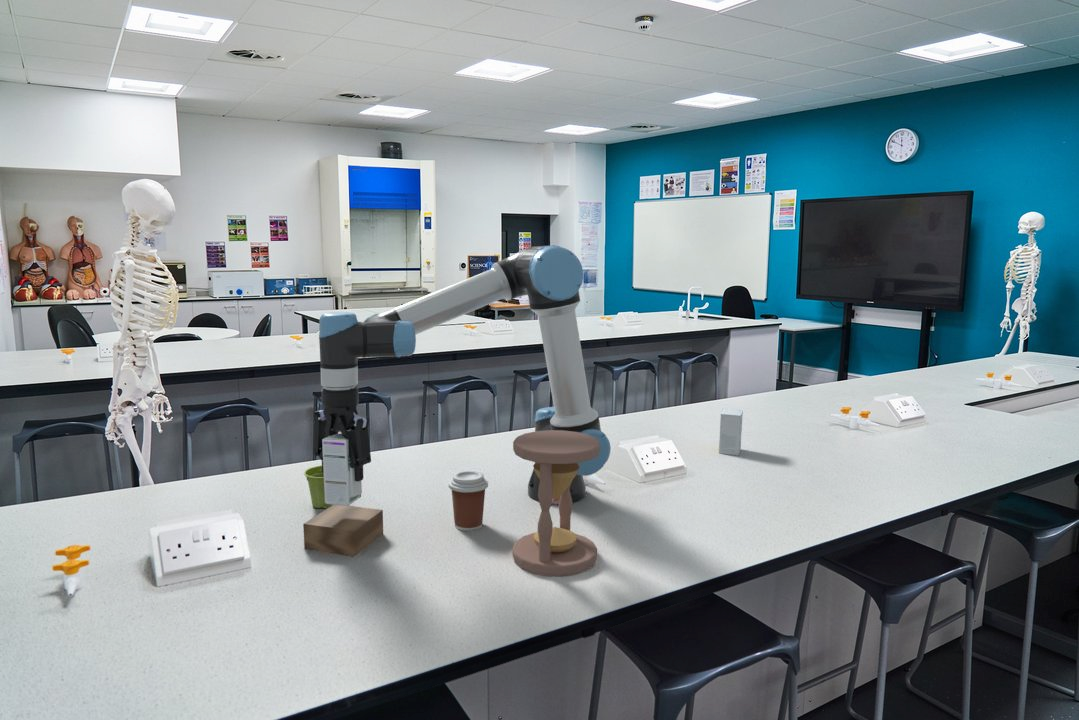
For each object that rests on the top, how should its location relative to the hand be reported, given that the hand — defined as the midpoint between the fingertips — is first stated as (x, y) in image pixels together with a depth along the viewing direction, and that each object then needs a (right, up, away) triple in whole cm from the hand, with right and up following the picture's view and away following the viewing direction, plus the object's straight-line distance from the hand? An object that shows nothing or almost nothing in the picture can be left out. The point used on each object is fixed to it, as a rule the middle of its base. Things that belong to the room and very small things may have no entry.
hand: (343, 491), depth 149 cm
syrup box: (0, -2, 0) cm, 2 cm away
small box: (+103, -1, +74) cm, 127 cm away
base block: (0, -11, +2) cm, 12 cm away
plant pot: (-11, -8, +23) cm, 27 cm away
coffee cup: (+26, -10, +12) cm, 30 cm away
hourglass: (+45, -13, -4) cm, 47 cm away
